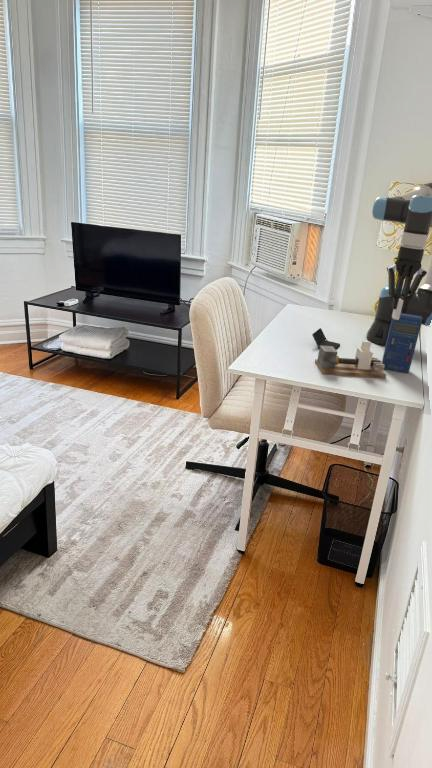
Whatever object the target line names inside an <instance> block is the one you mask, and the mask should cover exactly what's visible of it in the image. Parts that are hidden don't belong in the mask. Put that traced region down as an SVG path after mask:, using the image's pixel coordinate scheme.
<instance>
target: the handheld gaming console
mask: <svg viewBox="0 0 432 768" xmlns="http://www.w3.org/2000/svg"><path fill="white" fill-rule="evenodd" d="M311 335H312V337H313V340H314V341H315V343H316V346H317V347H318V348H317V350H319V348H320V346H333V347H334V349H335V350H336V351H337V349H339V347H340V346H341V343H339V342H334V341H330V340H328V339H327V337H326V335H325V333H324V331H323V329H322V327H320V328H318V329H317V330H316V331H314V332H313V333H312V334H311Z"/></svg>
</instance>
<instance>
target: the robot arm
mask: <svg viewBox="0 0 432 768" xmlns="http://www.w3.org/2000/svg"><path fill="white" fill-rule="evenodd" d="M371 210H372V211H371V212H372V217H373V219H375V220H378V221H379V220H380V221H382V222H383V221H385V222H392V223H399V224H404V228H403V233H402V236H401V240H400V247H399V248H398V253H397V258H396V261H395V262H394V264H393V265H391V266H387V267H386V271H387V273H388V274H387V275H388V285H386V286H383V287H382V288H381V291H380V294H379V296H378V302H377V307H376V312H375V316H374V319H373V321H372V324H371V325H370V327H369V329H368V331H367V333H366V337H365V338H366V340H367V341H368V342H371V343H373V344H378V345H381V346H384V347H385V346H386V342H387V338H388V334H389V329H390V325H391V321H392V318H393V319H395V320H399V317H400V313H403V314H410V315H416V316H422V319H423V320H422V323H421V326H425V327H430V326H429V325H430V323H431V320H432V259H431V261H430V264H429V267H428V270H427V271H426V270H425V269H424V268H422V261H423V256H424V253H425V250H424V248H425V247H426V245H427V240H428V237H429V232H430V228H432V182H428V183H423V184H421V185H417V186H415V187H414V188H413V189H411V191H408V192H405V193H402V194H399V195H396V196H393V197H389V196H379V197H376V198H375V200H374V203H373V206H372V209H371ZM396 271H397V279H396V274H395V273H396ZM415 274H416V275H415ZM414 276H415V277H414ZM424 277H425V279H424V283H423V284H422V285H421V286H419V285H420V284H421V282H422V280H423V278H424Z"/></svg>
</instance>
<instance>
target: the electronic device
mask: <svg viewBox="0 0 432 768" xmlns="http://www.w3.org/2000/svg"><path fill="white" fill-rule="evenodd" d="M422 320H423V319H422V316H416V315H410V314H403V313H400V317H399V320H395V319H393V318H392V321H391V325H390V329H389V334H388V338H387V342H386V346H385V345H384V351H383V355H382V359H381V362H382V363H383V364H384V365H385V366H384V370H389V371H395V372H400V373H406V374H409V373H410V369H411V366H412V365H411V364H412V362H413V357H414V354H415V350H416V346H417V342H418V338H419V335H420V330H421V326H422V325H421V323H422Z"/></svg>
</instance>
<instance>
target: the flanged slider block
mask: <svg viewBox="0 0 432 768" xmlns="http://www.w3.org/2000/svg"><path fill="white" fill-rule="evenodd" d="M371 346H372V342H371V341H368V340H367V341H366V340H364V341H361V346H360V347H357V348H356V352H355V356H354V359H359V361H358V366H357V368H358V369H365V370H369V369H370V364H371V360H372V357H373V354H374V352H373V351H372V350H371Z"/></svg>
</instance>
